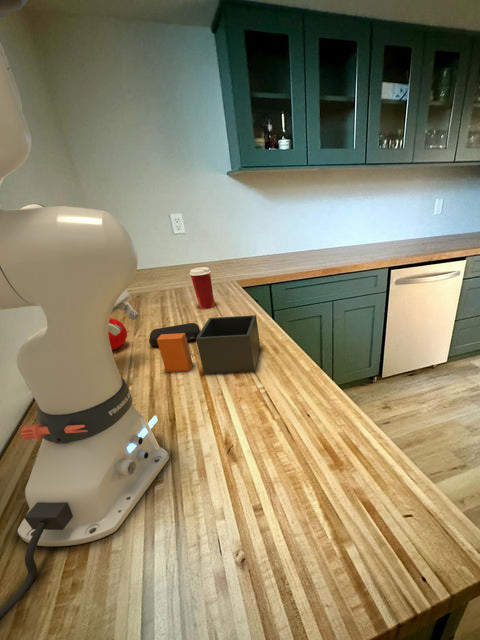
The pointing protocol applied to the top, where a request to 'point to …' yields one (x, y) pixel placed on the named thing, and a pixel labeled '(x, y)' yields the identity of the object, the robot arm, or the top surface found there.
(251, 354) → the trash bin
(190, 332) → the carrying case
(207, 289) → the paper cup
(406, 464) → the top surface
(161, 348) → the block
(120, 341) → the tomato
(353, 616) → the top surface
